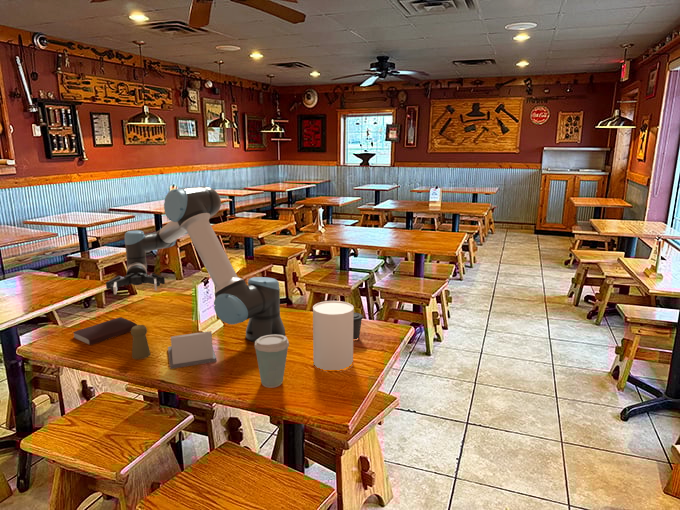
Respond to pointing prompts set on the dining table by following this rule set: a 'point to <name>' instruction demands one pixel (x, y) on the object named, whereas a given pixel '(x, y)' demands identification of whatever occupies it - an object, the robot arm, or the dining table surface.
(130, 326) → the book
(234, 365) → the dining table surface
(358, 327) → the coffee cup
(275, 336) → the disposable coffee cup
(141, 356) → the cork
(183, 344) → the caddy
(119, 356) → the dining table surface
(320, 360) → the canister
